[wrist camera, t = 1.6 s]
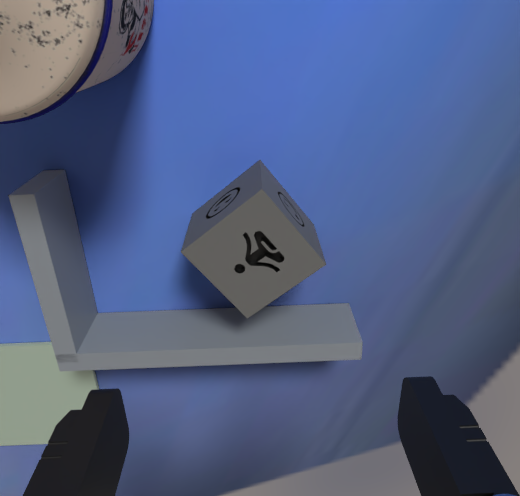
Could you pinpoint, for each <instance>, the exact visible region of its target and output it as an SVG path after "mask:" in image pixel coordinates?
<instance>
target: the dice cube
mask: <svg viewBox="0 0 520 496" xmlns="http://www.w3.org/2000/svg"><path fill="white" fill-rule="evenodd" d="M181 253H182V254H183V255H184V256H185V257H186V258H187V259H188V260H189V261H190V262H191V263H192V264H193V265H194V266H195V267H196V268H197V269H198V270H199V271H200V272H201V273H202V274H203V275H204V276H205V277H206V278H207V279H208V280H209V281H210V282H211V283H212V284H213V285H214V286H215V287H216V288H217V289H218V290H219V291H220V292H221V293H222V294H223V295H224V296H225V297H226V298H227V299H228V300H229V301H230V302H231V303H232V304H233V305H234V306H235V307H236V308H237V309H238V310H239V311H240V312H241V313H242V314H243V315H244V316H245V317H246V318H247V319H248V318H249V317H250V316H252V315H253V314H255V313H256V312H258V311H259V310H261V309H262V308H264V307H265V306H266V305H268V304H269V303H271V302H272V301H274V300H275V299H277V298H278V297H280V296H281V295H282V294H284V293H285V292H287V291H288V290H290V289H291V288H293V287H294V286H296V285H297V284H298V283H300V282H301V281H303V280H304V279H306V278H307V277H309V276H310V275H312V274H313V273H314V272H316V271H317V270H319V269H320V268H322V267H323V266H325V265H326V262H325V259H324V256H323V253H322V249H321V246H320V243H319V240H318V237H317V233H316V230H315V227H314V224H313V223H312V222H311V221H310V219H309V218H308V217H307V216H306V215H305V213H304V212H303V211H302V210H301V209H300V207H299V206H298V205H297V204H296V203H295V201H294V200H293V199H292V198H291V196H290V195H289V194H288V193H287V192H286V190H285V189H284V188H283V187H282V186H281V184H280V183H279V182H278V181H277V180H276V178H275V177H274V176H273V175H272V174H271V172H270V171H269V170H268V169H267V167H266V166H265V165H264V164H263V163H262V161H261V160H259V161H258V162H256V163H255V164H254V165H253V166H251V167H250V168H249V169H248V170H246V171H245V172H244V173H243V174H241V175H240V176H239V177H238V178H236V179H235V180H234V181H233V182H231V183H230V184H229V185H228V186H226V187H225V188H224V189H223V190H221V191H220V192H219V193H218V194H216V195H215V196H214V197H213V198H211V199H210V200H209V201H208V202H206V203H205V204H204V205H203V206H201V207H200V208H199V209H197V210H196V211H195V212H194V213H192V217H191V220H190V223H189V226H188V230H187V233H186V236H185V240H184V243H183V246H182V250H181Z"/></svg>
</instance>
